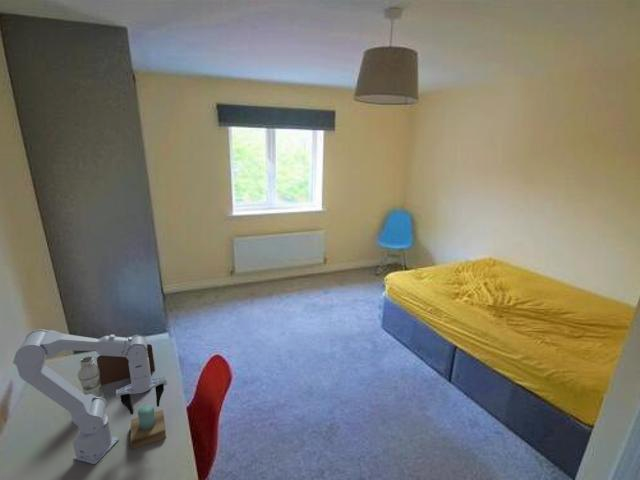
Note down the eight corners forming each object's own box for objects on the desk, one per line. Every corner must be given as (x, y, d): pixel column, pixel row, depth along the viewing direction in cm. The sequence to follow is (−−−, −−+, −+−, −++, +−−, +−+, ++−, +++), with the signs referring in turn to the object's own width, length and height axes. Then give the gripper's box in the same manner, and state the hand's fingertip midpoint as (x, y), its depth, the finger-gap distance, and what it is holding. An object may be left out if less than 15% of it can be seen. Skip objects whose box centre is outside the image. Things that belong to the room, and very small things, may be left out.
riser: (166, 437, 112) (165, 430, 111) (131, 449, 108) (130, 441, 107) (163, 416, 121) (163, 409, 120) (132, 426, 116) (131, 419, 115)
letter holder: (155, 371, 145) (151, 342, 141) (100, 386, 135) (95, 356, 132) (153, 359, 153) (149, 331, 150) (102, 372, 144) (96, 343, 140)
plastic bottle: (96, 414, 121) (86, 366, 116) (80, 411, 122) (70, 363, 117) (110, 402, 127) (102, 355, 122) (95, 399, 128) (86, 353, 123)
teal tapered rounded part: (148, 431, 111) (147, 416, 109) (136, 428, 112) (134, 413, 110) (158, 420, 115) (157, 405, 114) (146, 417, 116) (144, 403, 115)
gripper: (164, 360, 115) (168, 393, 118) (114, 372, 108) (120, 407, 112) (165, 372, 109) (169, 407, 112) (113, 385, 102) (119, 422, 106)
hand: (145, 408), depth 112 cm, fingers open, 7 cm apart
